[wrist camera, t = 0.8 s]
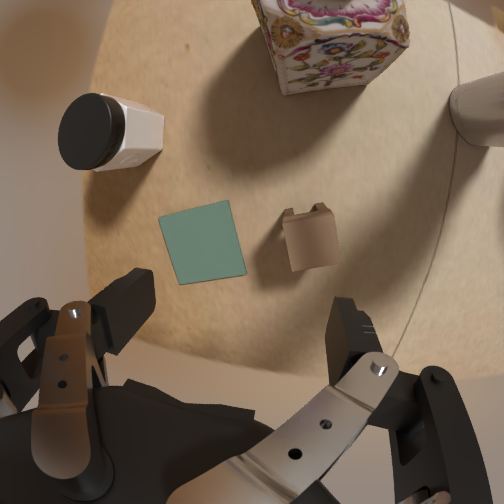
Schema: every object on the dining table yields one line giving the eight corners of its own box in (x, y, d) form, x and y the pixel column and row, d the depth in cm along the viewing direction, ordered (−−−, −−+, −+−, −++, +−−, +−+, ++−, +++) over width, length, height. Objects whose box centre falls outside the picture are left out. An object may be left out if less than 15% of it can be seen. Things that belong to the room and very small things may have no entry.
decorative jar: (344, 12, 23) (374, -69, 6) (371, 85, 26) (439, 30, 9) (256, 24, 25) (227, -63, 8) (279, 98, 29) (268, 34, 12)
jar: (127, 176, 34) (69, 187, 23) (106, 130, 32) (48, 128, 21) (177, 142, 32) (126, 137, 21) (153, 94, 30) (100, 74, 19)
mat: (228, 200, 34) (227, 200, 33) (246, 273, 36) (246, 274, 36) (159, 217, 35) (158, 217, 35) (180, 283, 38) (179, 284, 38)
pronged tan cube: (323, 201, 32) (333, 214, 25) (329, 240, 33) (340, 263, 26) (283, 208, 33) (282, 223, 25) (291, 246, 34) (291, 271, 27)
